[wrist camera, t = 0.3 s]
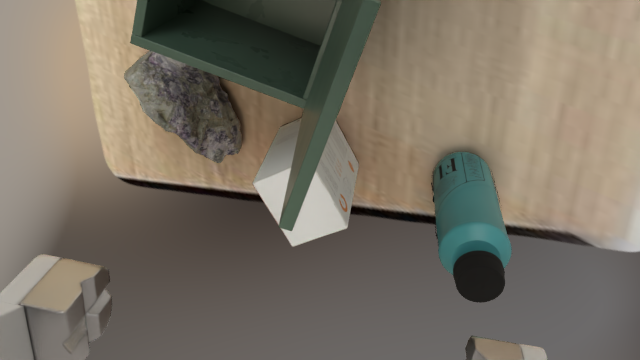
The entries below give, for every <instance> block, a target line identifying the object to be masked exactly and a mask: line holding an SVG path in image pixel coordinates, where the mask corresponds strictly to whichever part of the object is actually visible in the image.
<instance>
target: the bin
mask: <svg viewBox="0 0 640 360" xmlns="http://www.w3.org/2000/svg"><path fill="white" fill-rule="evenodd" d="M341 2H342V0H137V6H136V13H135V19H134V25H133V31H132V36H131V42H130V43H131V44H134V45H137V46H139V47H142V48H145V49H147V50H150V51H153V52H155V53H158V54H160V55H163V56H166V57H168V58H171V59H174V60H176V61H179V62H182V63H184V64H187V65H190V66H192V67H195V68H198V69H200V70H203V71H205V72H208V73H211V74H213V75H216V76H219V77H221V78H224V79H227V80H229V81H232V82H235V83H237V84H240V85H243V86H245V87H248V88H251V89H253V90H256V91H258V92H261V93H264V94H266V95H269V96H272V97H274V98H277V99H280V100H282V101H285V102H288V103H290V104H293V105H296V106H298V107H301V108H303V109H304V107H305V104H306V101H307V99H308V96H309V93H310V90H311V87H312V84H313V82H314V79H315V76H316V73H317V70H318V67H319V65H320V62H321V59H322V56H323V53H324V50H325V48H326V45H327V42H328V39H329V36H330V33H331V31H332V28H333V25H334V22H335V19H336V16H337V14H338V11H339V8H340V5H341Z"/></svg>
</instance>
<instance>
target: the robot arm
mask: <svg viewBox="0 0 640 360" xmlns="http://www.w3.org/2000/svg"><path fill="white" fill-rule="evenodd" d="M109 282H110V276H109V270H108V269H107V268H106V267H103V266H99V265H94V264H89V263H85V262H80V261H75V260H71V259H65V258H59V257H54V256H50V255H45V254H42V255H39V256H36V257H35V258H34V259H33V260H32V262H30V263H29V264H28V265H27V266H26V267H25V268H24V269H23V270H22V271H21V272H20V273H19V274H18V276H17V277H16V278H15V279H14V280H13V281H12V282H11V283H10V284H9V285H8V286H7V287H6V288H5V289H4V290H3V291H2V292H1V293H0V360H85V359H86V358H87V356H88V355H89V353H90V347H89V343H90V342H92V341H94V340H96V339H98V338H99V337H101V335H102V333H103V332H104V330H105V329H106V327H107V324H108V322H109V319H110V316H111V311H112V296H111V295H110V294H109V292H108V291H107V290H106V289H105V288H106V286H107V285H108V283H109ZM465 350H466V360H548V359H547V356H546V352H545V351H544V350H543V348H540V347H534V346H528V345H523V344H516V343H510V342H505V341H499V340H493V339H488V338H482V337H477V336H471V337H470V338H469V340H468V342H467V345H466V348H465Z"/></svg>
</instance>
